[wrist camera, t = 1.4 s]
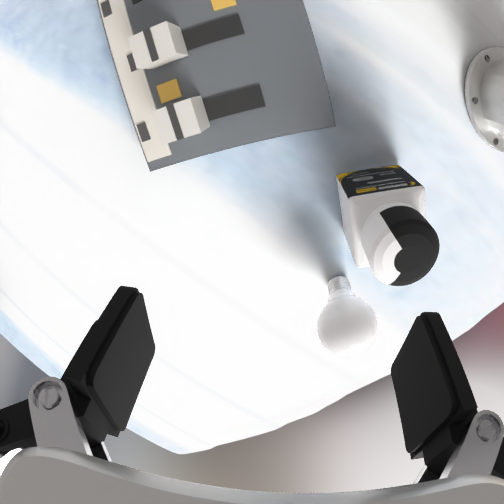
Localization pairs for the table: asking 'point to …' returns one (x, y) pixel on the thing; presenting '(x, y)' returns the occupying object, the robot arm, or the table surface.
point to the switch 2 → (180, 120)
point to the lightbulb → (346, 321)
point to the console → (222, 72)
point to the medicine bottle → (387, 224)
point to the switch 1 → (157, 46)
